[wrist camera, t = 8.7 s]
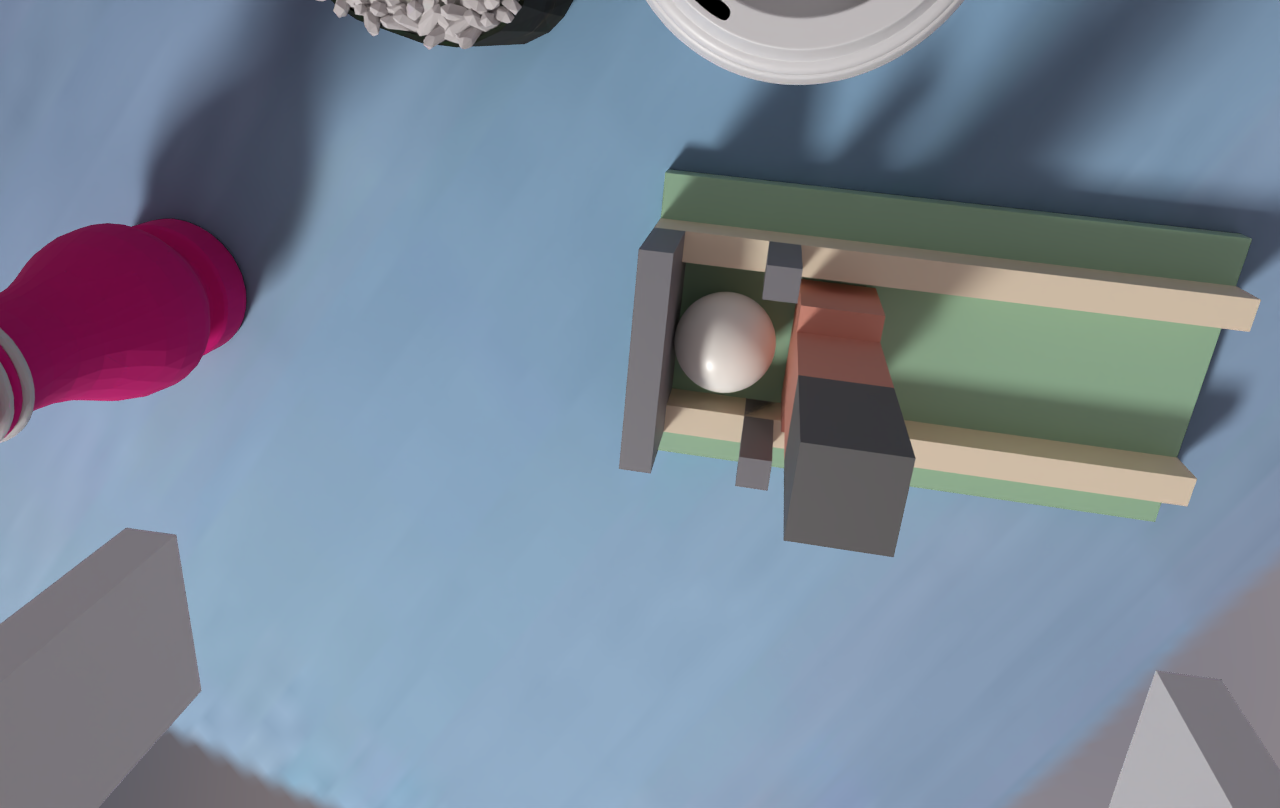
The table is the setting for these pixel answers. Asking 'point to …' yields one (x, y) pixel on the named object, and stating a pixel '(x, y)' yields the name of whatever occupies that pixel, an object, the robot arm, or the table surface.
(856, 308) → the black and red block
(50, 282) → the pepper mill
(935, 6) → the coffee cup
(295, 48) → the table surface
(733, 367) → the ball
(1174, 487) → the pitch
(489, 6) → the sushi
